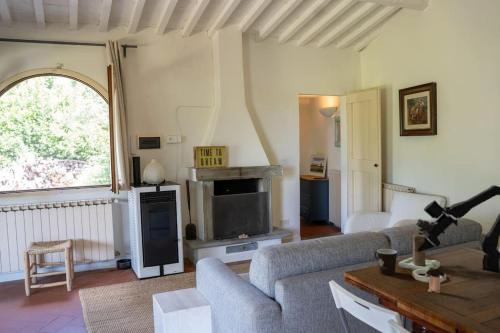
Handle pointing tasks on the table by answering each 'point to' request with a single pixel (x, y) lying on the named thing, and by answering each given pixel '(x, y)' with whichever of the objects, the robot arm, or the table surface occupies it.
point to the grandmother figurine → (434, 277)
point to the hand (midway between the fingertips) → (415, 248)
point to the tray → (409, 265)
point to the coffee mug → (386, 261)
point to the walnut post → (417, 256)
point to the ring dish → (422, 278)
